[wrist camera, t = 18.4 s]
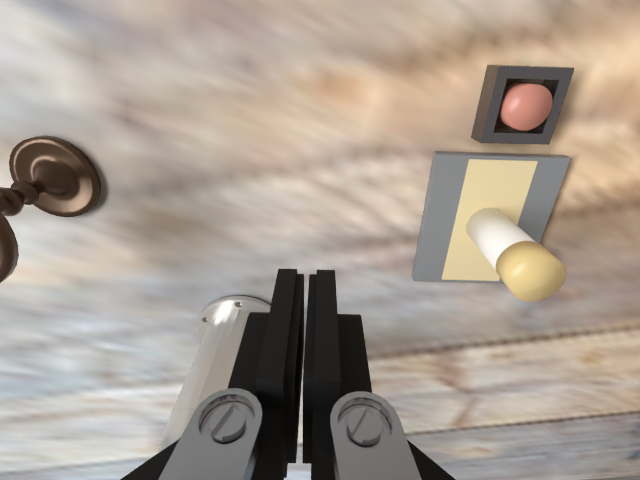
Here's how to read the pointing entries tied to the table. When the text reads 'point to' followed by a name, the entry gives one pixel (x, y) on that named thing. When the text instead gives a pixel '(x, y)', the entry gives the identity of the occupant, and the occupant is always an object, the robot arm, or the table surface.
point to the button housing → (492, 96)
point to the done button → (524, 105)
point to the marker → (515, 255)
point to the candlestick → (45, 187)
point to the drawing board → (475, 194)
